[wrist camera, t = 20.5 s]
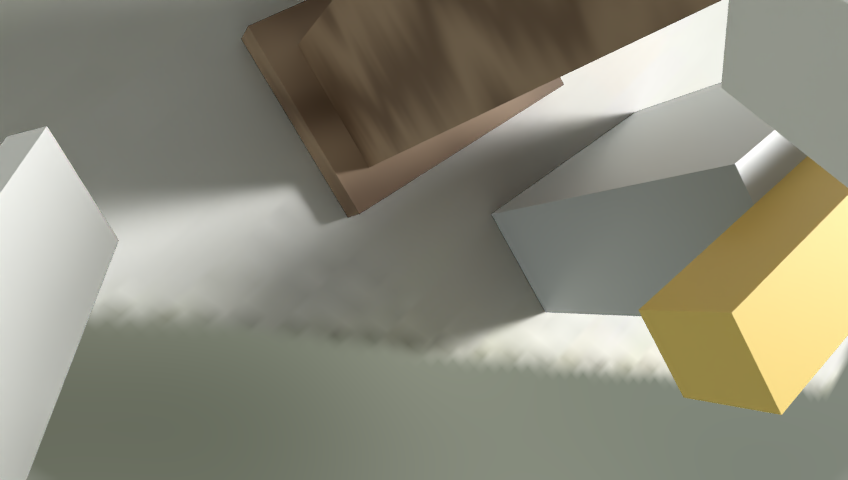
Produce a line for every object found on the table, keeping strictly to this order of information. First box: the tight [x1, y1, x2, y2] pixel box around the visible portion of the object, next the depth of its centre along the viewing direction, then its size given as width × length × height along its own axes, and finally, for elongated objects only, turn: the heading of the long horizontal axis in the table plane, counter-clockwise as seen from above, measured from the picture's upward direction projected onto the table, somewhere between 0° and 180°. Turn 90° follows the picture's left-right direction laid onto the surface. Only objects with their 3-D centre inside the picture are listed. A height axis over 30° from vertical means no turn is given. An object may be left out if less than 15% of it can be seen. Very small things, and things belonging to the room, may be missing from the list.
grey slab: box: [492, 82, 807, 316], centre depth 40 cm, size 8×16×19 cm, turn 123°
